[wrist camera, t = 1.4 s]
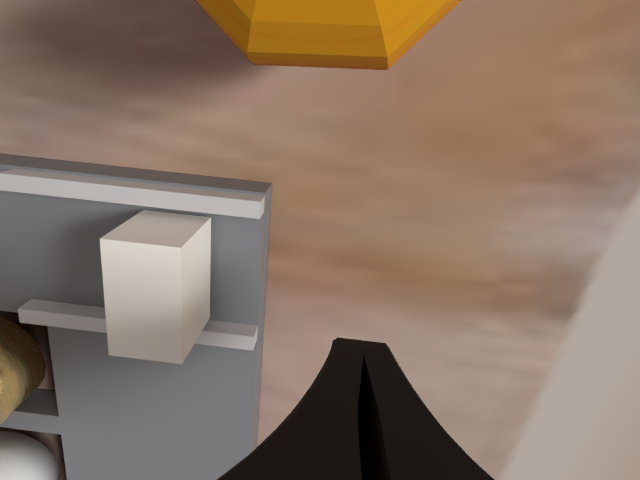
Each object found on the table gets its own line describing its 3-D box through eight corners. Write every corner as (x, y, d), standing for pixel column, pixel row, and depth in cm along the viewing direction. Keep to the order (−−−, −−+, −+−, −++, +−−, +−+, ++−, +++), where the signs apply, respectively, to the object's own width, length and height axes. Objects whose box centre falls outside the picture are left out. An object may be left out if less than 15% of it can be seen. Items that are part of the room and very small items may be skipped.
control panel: (251, 539, 24) (241, 586, 22) (-47, 500, 25) (-86, 541, 22) (272, 183, 17) (260, 198, 15) (-136, 139, 18) (-203, 148, 16)
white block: (209, 317, 18) (182, 364, 15) (147, 309, 18) (108, 355, 15) (211, 217, 16) (180, 247, 13) (143, 209, 16) (99, 238, 13)
